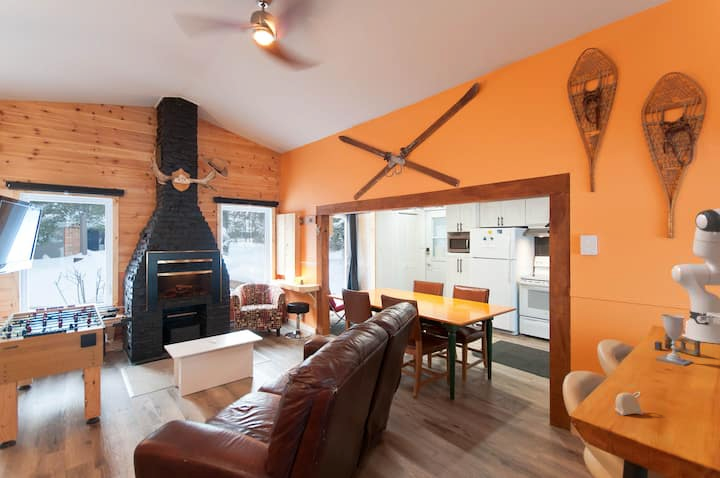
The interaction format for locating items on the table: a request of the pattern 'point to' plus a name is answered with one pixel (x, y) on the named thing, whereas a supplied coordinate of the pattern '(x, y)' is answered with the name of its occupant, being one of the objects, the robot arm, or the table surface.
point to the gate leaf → (683, 345)
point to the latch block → (658, 345)
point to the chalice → (673, 332)
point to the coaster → (683, 362)
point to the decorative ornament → (628, 403)
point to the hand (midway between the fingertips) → (703, 319)
